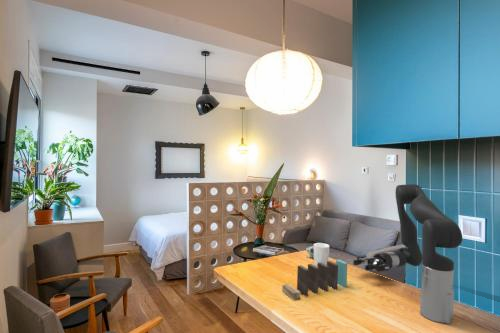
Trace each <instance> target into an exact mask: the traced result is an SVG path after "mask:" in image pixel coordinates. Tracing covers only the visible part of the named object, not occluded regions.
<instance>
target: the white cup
mask: <svg viewBox="0 0 500 333" xmlns="http://www.w3.org/2000/svg"><path fill="white" fill-rule="evenodd" d="M313 246H314V258H313V263H314V264H313V265H314V266H316V267H318V263H319V262H321V263H323V264H325V265H327V261H329V257H330V247H331V246H330V244H327V243H323V242H316V243H313Z"/></svg>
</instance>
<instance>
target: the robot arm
mask: <svg viewBox="0 0 500 333" xmlns="http://www.w3.org/2000/svg"><path fill="white" fill-rule="evenodd" d="M395 201H396V207H397V208H396V209H397V214H398V219H399V223H400V224H399V225H400V238H401V241H400V242H401V244H402V245H403V246H405V247H401V248H398V249H397V250H395V251H385V252H378V253H375V254H374V256H370V257H367V255H361V256H360V255H359V256H357V258H356V259H354V260H353V265H354V266H359V265H364V270H365V271H372V270H373V271H377V272H385V271H386V272H387V271H389V270H392V269H395V268H399V267H403V266H405V265H406V264H408V265H410V266H413V267H419V266H421V285H420V286H421V287H420V288H421V289H420V305H419V306H420V307H419V309H420V311H419V312H420V315H421V316H423V317H424V318H426V319H428V320H430V321H433V322H436V323H443V324H448V325H450V324H451V322H452V321H453V319H454V307H455V306H454V304H455V290H454V270H455V262H454V261H453V260H452V259H451V258H449V257H447V256H445V255H443V254H440V253H438V252H437V250H436V248H444V249H455V248H458V247H460V246H461V245H462V243H463V234H462V231H461V229H460V227H459V225H458V224H457V222H455V221H454V220H453V219H451V218H450V217H449V216H447V215H446V214H444V213H443V212H442V211H441V210H440V209H439V208H438V207H437V205H436V204H435V203H434V202H432V200H430V198H429V197H428V196H427V194H426V193H425V192H424V190H423V189H422V187H421V186H420V185H418V184H414V183H413V184H412V183H411V184H398V185H396V187H395ZM405 205H409V211H410V213H411V215H412V217H413V218H414V220H416V221H417V222H418V223H419V224H421V225H422V226H421V244H422V245H421V248H420V245H419V242H418V240H419V239H418V229H417V228H418V227H417V225H416V224H415V222H414V221H413V220H412V218H411V217H410V215H409V214H408V213H407V211H406V208H405V207H406V206H405ZM421 264H422V265H421Z"/></svg>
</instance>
